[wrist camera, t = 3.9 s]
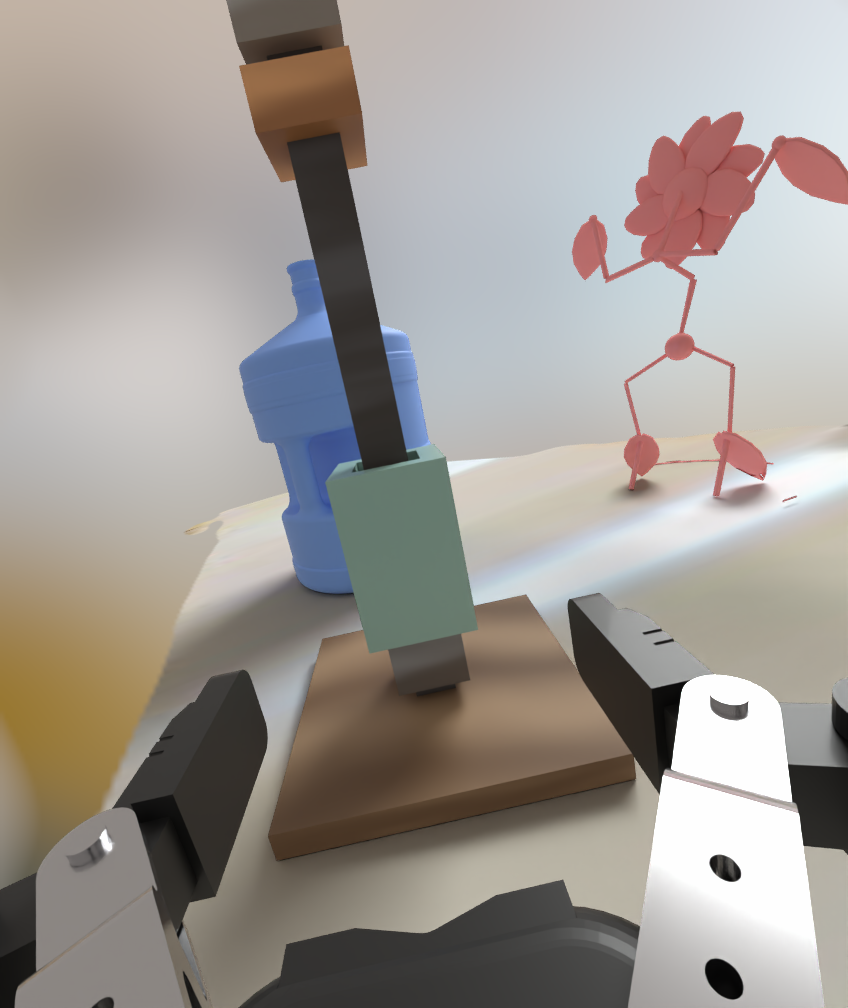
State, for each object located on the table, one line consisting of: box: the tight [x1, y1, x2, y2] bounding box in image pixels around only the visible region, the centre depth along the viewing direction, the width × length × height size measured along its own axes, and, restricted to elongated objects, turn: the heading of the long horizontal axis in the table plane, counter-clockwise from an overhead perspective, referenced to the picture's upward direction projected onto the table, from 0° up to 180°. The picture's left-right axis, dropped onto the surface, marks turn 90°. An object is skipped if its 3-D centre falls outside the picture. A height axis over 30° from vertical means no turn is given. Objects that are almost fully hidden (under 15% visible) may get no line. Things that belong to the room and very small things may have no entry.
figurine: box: [572, 112, 848, 502], centre depth 48 cm, size 15×26×35 cm, turn 34°
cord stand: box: [226, 0, 636, 861], centre depth 20 cm, size 14×14×31 cm
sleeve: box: [325, 444, 478, 654], centre depth 22 cm, size 5×5×8 cm
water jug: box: [239, 260, 431, 594], centre depth 43 cm, size 16×16×28 cm
